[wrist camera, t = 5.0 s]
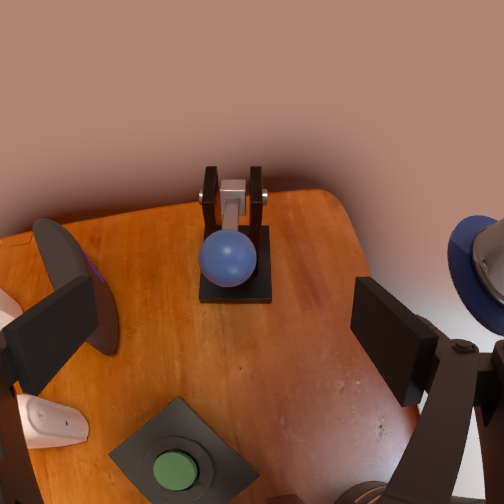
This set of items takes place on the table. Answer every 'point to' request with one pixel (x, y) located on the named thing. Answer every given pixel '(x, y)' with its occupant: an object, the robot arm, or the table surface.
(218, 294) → the switch bracket
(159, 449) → the button box
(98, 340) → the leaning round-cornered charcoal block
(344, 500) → the light fixture
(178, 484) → the green button
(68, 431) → the photo printer
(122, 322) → the table surface
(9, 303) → the mug
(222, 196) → the lever
